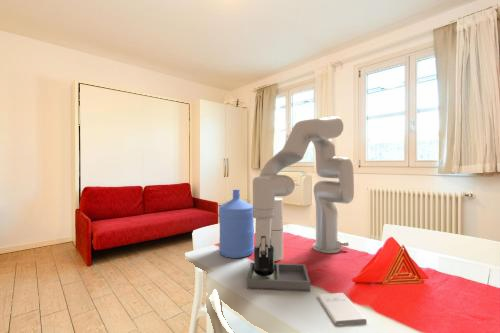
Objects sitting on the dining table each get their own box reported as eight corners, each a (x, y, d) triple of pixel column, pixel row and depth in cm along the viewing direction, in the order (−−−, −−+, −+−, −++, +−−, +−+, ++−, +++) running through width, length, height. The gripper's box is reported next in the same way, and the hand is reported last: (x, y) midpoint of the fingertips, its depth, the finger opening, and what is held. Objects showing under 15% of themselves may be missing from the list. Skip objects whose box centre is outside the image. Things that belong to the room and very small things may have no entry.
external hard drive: (335, 327, 62) (317, 299, 74) (366, 325, 62) (343, 297, 75) (335, 321, 62) (317, 293, 74) (366, 318, 62) (343, 292, 75)
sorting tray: (304, 272, 90) (304, 264, 90) (310, 291, 77) (310, 282, 77) (250, 270, 92) (250, 262, 92) (247, 288, 79) (247, 279, 79)
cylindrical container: (282, 261, 100) (282, 200, 99) (265, 260, 101) (264, 200, 101) (283, 254, 107) (283, 197, 106) (267, 253, 108) (267, 197, 108)
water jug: (261, 253, 109) (260, 190, 108) (230, 262, 100) (229, 193, 99) (242, 243, 122) (241, 187, 121) (213, 250, 113) (212, 189, 112)
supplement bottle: (278, 271, 85) (277, 237, 85) (265, 278, 80) (264, 242, 80) (263, 265, 90) (263, 233, 90) (250, 272, 85) (249, 238, 85)
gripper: (254, 207, 93) (255, 253, 94) (250, 218, 76) (251, 275, 77) (274, 207, 93) (275, 254, 93) (274, 218, 75) (275, 275, 76)
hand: (264, 263), depth 85 cm, fingers closed on supplement bottle, 6 cm apart
